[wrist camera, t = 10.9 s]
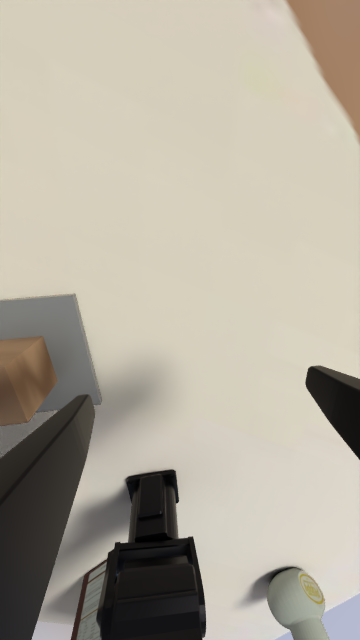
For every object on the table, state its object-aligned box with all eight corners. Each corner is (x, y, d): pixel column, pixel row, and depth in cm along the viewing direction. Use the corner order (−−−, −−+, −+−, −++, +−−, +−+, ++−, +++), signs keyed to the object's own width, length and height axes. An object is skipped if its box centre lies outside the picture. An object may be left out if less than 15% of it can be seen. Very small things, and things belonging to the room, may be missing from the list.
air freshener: (315, 570, 43) (359, 660, 34) (287, 588, 45) (321, 678, 36) (285, 559, 40) (324, 654, 31) (255, 579, 42) (283, 676, 32)
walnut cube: (57, 381, 20) (28, 422, 15) (4, 387, 20) (-43, 431, 15) (43, 336, 18) (4, 366, 14) (-16, 341, 18) (-77, 375, 13)
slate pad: (102, 400, 22) (100, 404, 22) (-15, 415, 21) (-20, 419, 21) (75, 293, 18) (72, 295, 17) (-72, 305, 17) (-80, 307, 16)
